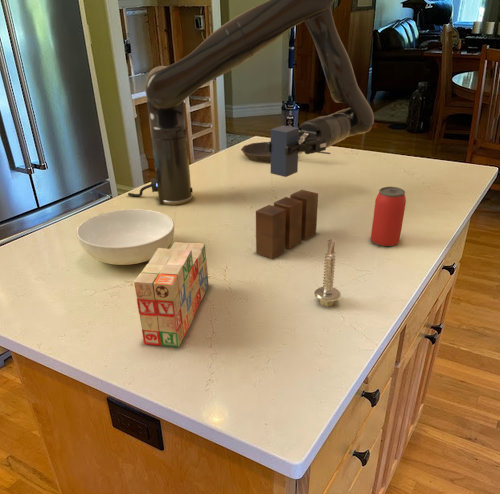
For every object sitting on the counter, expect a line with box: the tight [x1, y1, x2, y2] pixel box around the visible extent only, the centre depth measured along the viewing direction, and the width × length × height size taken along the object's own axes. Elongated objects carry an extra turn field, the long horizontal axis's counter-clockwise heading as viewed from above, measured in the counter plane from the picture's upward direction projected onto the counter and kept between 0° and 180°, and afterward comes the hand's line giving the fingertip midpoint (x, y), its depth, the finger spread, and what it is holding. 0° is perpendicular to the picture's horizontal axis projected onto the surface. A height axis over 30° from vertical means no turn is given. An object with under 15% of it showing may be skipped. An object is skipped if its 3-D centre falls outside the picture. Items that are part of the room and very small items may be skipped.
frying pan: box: [240, 141, 331, 163], centre depth 174 cm, size 18×32×4 cm, turn 62°
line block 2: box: [273, 196, 303, 250], centre depth 116 cm, size 5×5×10 cm
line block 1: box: [255, 204, 286, 260], centre depth 112 cm, size 5×5×10 cm
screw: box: [313, 239, 342, 307], centre depth 93 cm, size 13×5×5 cm
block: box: [270, 124, 299, 178], centre depth 119 cm, size 5×5×10 cm
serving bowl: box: [76, 208, 175, 266], centre depth 113 cm, size 21×21×7 cm
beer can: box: [370, 186, 407, 247], centre depth 116 cm, size 7×7×12 cm
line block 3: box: [289, 189, 319, 241], centre depth 120 cm, size 5×5×10 cm
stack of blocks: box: [133, 241, 210, 348], centre depth 91 cm, size 21×6×12 cm, turn 170°
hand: (277, 149), depth 116 cm, fingers closed on block, 4 cm apart
